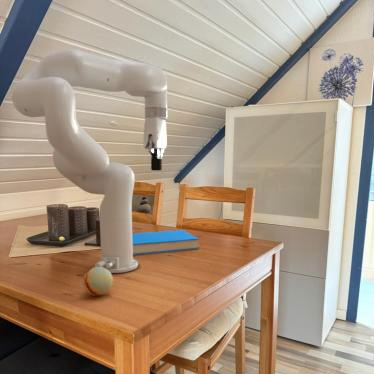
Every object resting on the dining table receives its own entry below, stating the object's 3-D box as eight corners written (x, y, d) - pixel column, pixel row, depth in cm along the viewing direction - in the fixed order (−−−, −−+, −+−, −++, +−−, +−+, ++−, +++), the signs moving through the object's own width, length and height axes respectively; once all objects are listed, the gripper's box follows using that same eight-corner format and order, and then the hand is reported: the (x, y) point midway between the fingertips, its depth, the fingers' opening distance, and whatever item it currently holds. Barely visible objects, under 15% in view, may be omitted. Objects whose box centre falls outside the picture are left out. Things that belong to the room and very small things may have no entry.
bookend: (105, 246, 132) (104, 220, 130) (84, 244, 134) (83, 219, 132) (122, 238, 145) (122, 214, 143) (103, 237, 147) (102, 213, 146)
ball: (118, 294, 86) (118, 267, 85) (93, 303, 81) (92, 274, 80) (103, 287, 91) (102, 261, 89) (78, 294, 86) (77, 267, 85)
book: (199, 238, 128) (131, 243, 119) (198, 249, 129) (131, 255, 120) (182, 229, 144) (122, 233, 135) (182, 239, 145) (122, 244, 136)
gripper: (154, 117, 125) (154, 169, 128) (136, 112, 111) (137, 170, 114) (174, 117, 123) (174, 170, 126) (158, 111, 109) (158, 171, 112)
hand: (156, 170), depth 120 cm, fingers closed
